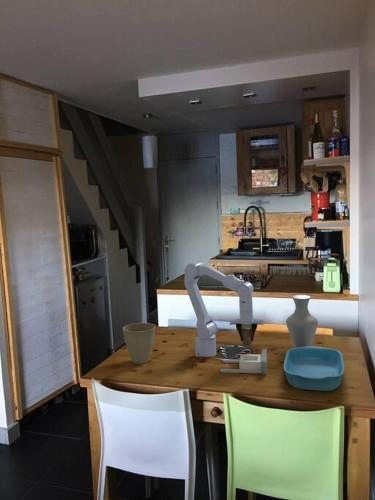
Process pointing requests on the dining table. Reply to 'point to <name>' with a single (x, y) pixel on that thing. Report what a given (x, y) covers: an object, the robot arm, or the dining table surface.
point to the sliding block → (250, 361)
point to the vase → (301, 323)
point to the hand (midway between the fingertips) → (247, 340)
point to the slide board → (238, 369)
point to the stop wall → (264, 362)
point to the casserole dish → (314, 368)
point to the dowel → (247, 336)
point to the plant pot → (139, 341)
